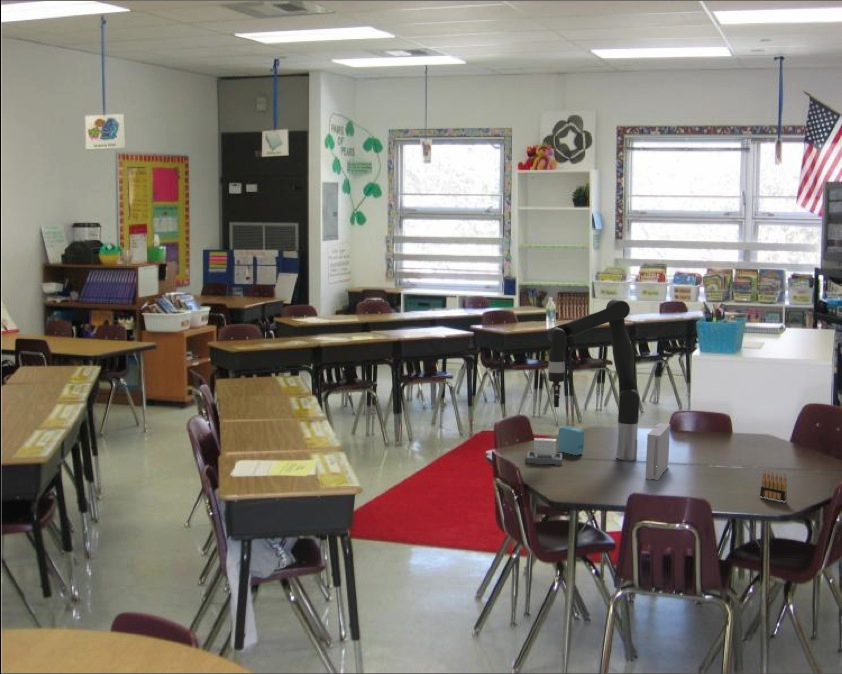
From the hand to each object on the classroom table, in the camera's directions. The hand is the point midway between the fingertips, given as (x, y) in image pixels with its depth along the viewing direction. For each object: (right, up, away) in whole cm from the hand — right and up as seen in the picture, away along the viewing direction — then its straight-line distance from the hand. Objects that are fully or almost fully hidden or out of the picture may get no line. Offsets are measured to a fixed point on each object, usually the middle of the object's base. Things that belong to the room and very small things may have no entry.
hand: (556, 405), depth 519 cm
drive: (-6, -25, -1) cm, 25 cm away
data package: (+9, -24, +16) cm, 30 cm away
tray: (-6, -26, -1) cm, 26 cm away
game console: (+43, -29, -18) cm, 55 cm away
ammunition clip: (+82, -36, -60) cm, 107 cm away
